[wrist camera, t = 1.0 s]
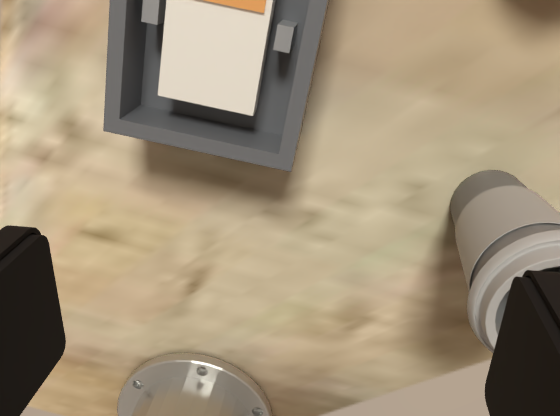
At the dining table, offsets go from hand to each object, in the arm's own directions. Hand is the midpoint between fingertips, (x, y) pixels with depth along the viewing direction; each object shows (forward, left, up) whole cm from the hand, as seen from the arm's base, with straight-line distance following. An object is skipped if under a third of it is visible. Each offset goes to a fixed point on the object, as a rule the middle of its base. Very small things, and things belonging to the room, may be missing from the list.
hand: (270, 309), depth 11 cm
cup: (-5, -12, -23) cm, 27 cm away
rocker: (+3, +5, -18) cm, 19 cm away
